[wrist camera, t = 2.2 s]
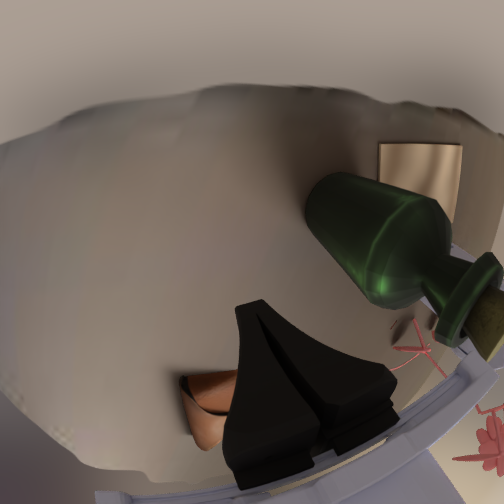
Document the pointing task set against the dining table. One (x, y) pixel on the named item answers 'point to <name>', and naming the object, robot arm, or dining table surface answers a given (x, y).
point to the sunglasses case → (207, 405)
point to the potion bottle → (408, 257)
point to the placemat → (423, 170)
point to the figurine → (492, 441)
